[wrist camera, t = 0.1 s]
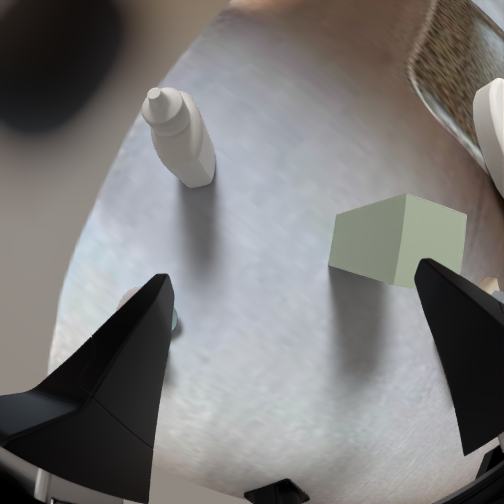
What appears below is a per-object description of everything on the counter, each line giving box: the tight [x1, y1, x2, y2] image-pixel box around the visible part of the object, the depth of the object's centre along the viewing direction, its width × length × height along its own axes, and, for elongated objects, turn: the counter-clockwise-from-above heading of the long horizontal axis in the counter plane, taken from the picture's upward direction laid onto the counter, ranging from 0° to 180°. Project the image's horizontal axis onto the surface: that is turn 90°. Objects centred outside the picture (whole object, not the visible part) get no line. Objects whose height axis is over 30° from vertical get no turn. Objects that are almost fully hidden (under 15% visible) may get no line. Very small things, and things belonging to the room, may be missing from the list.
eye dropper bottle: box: [142, 88, 215, 188], centre depth 18 cm, size 4×6×12 cm
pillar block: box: [328, 193, 467, 289], centre depth 18 cm, size 4×4×12 cm
